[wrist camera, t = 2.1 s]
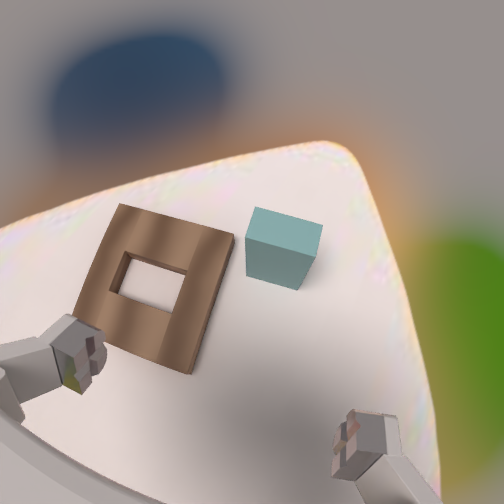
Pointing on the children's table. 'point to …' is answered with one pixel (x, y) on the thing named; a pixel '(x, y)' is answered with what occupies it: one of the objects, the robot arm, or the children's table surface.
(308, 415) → the children's table surface
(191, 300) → the slot board
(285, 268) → the teal rectangular block
